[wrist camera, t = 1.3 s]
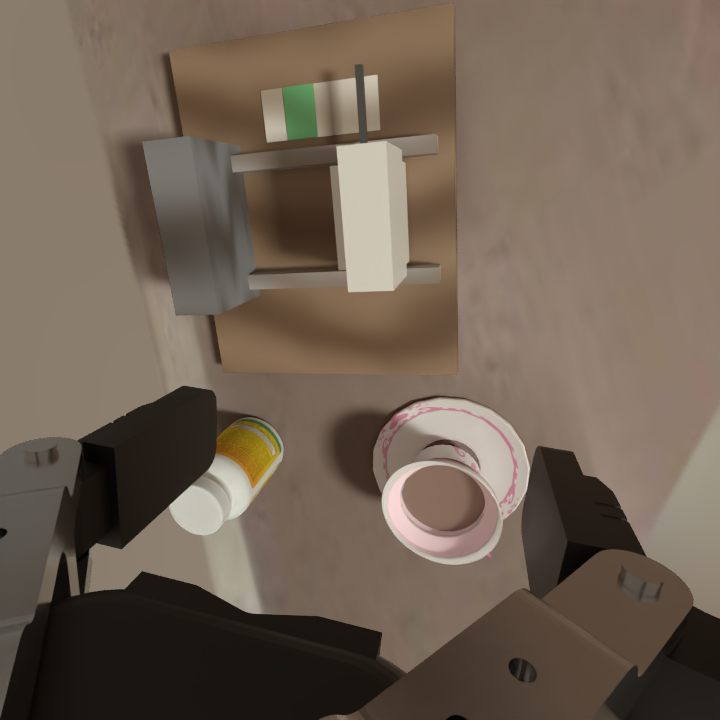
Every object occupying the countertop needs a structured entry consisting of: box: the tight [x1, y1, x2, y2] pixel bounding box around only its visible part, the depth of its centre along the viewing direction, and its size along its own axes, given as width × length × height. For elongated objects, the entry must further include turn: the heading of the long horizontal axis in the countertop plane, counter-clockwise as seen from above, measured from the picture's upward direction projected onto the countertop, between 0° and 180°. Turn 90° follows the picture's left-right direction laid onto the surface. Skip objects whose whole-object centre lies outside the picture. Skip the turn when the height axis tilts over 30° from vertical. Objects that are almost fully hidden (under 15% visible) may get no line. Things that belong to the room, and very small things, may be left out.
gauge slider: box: [330, 64, 409, 292], centre depth 27 cm, size 12×4×8 cm, turn 4°
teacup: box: [373, 397, 530, 565], centre depth 35 cm, size 12×12×6 cm
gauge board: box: [142, 3, 458, 375], centre depth 30 cm, size 22×18×8 cm
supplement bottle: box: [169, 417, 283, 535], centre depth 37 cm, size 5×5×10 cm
